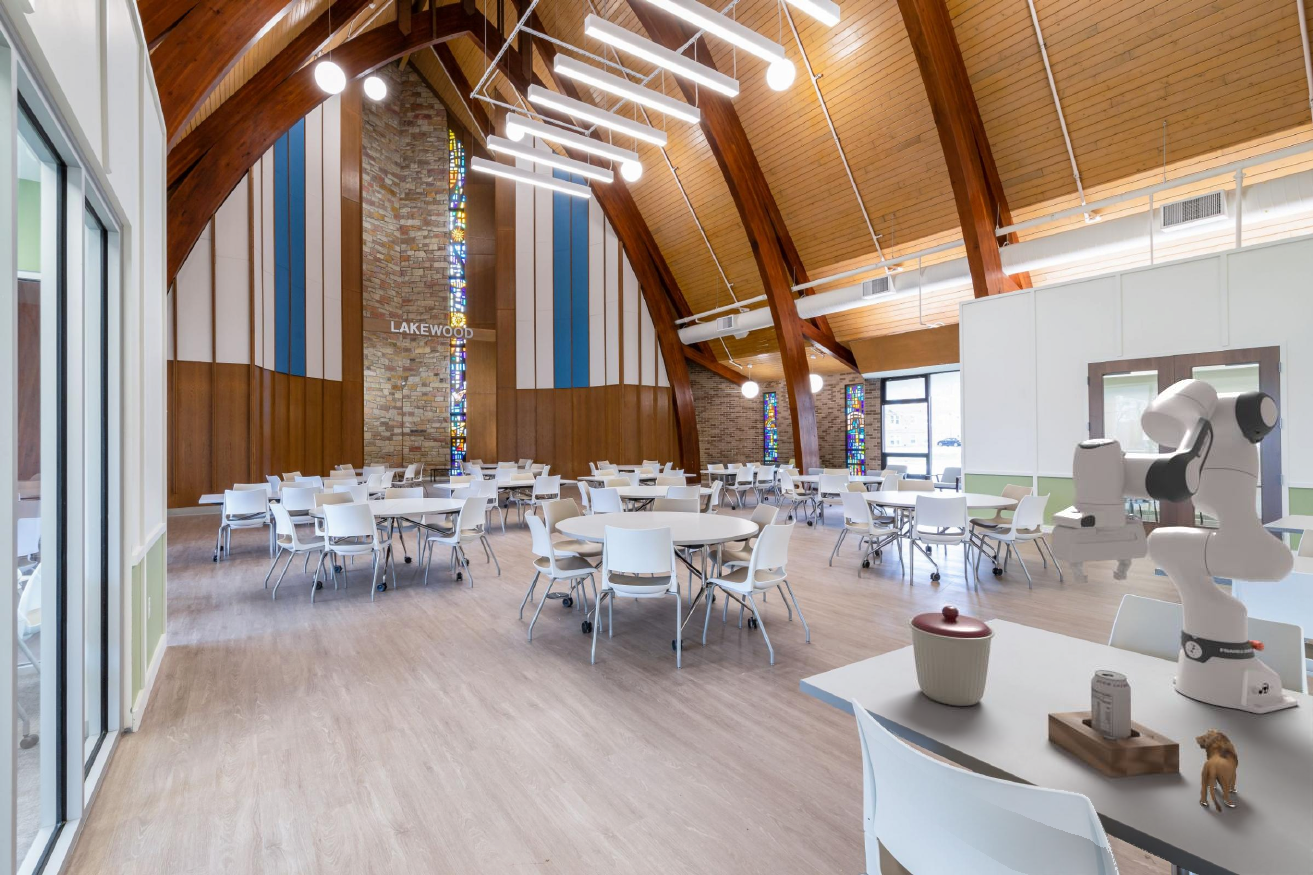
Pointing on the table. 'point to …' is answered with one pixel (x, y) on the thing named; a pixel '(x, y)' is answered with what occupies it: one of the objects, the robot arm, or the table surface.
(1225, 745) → the lion figurine
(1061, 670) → the table surface
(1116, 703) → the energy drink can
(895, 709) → the table surface
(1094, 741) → the block
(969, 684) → the canister
